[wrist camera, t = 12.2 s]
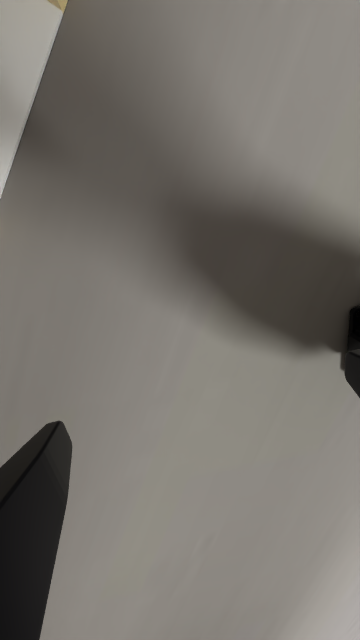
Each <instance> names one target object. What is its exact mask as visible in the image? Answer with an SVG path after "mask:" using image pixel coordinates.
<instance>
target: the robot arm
mask: <svg viewBox="0 0 360 640" xmlns="http://www.w3.org/2000/svg"><path fill="white" fill-rule="evenodd" d="M358 311H359V312H358ZM357 312H358V314H357V315H356V313H357ZM345 378H346V380H347V382H348V383H349V384H350V386H351V387H352V388H353V390H354V391H355V392H356V394H357V395H358V396H359V398H360V306H356V307H354V308H353V309H352V310H351V311H350V321H349V336H348V352H347V353H346V355H345ZM71 457H72V442H71V439H70V437H69V435H68V432H67V430H66V428H65V426H64V424H63V422H62V421H56V422H52V423H48V424H46V425H45V426H44V427H43V428H42V429H41V430H40V431H39V432H38V433H37V434H36V435H34V436H33V437H32V438H31V439H30V440H29V441H28V442H27V443H26V444H25V445H24V446H23V447H22V448H21V449H20V450H19V451H17V452H16V453H15V454H14V455H13V456H12V457H11V458H10V459H9V460H8V461H7V462H6V463H5V464H4V465H3V466H2V467H0V640H39V639H40V634H41V629H42V624H43V619H44V614H45V609H46V604H47V599H48V594H49V589H50V584H51V579H52V574H53V569H54V564H55V559H56V554H57V549H58V544H59V539H60V534H61V530H62V525H63V520H64V515H65V510H66V504H67V498H68V489H69V479H70V468H71Z"/></svg>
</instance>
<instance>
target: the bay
mask: <svg viewBox="0 0 360 640" xmlns="http://www.w3.org/2000/svg"><path fill="white" fill-rule="evenodd" d="M67 2H68V0H0V198H1V195H2V192H3V189H4V186H5V183H6V180H7V177H8V174H9V172H10V169H11V166H12V163H13V160H14V157H15V154H16V151H17V148H18V145H19V142H20V139H21V136H22V133H23V131H24V128H25V125H26V122H27V119H28V116H29V113H30V110H31V107H32V104H33V101H34V98H35V95H36V92H37V90H38V87H39V84H40V81H41V78H42V75H43V72H44V69H45V66H46V63H47V60H48V57H49V54H50V52H51V49H52V46H53V43H54V40H55V37H56V34H57V31H58V28H59V25H60V22H61V19H62V16H63V13H64V11H65V8H66V5H67Z"/></svg>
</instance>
